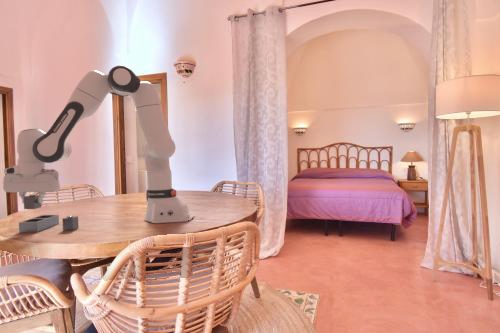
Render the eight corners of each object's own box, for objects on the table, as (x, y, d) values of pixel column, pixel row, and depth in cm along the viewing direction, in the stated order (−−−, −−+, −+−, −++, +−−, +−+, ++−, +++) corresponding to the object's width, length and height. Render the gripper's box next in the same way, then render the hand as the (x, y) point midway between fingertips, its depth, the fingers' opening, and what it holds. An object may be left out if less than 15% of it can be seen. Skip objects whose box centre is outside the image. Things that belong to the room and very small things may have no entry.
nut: (41, 207, 120) (40, 193, 120) (34, 209, 116) (34, 195, 116) (31, 207, 120) (30, 193, 120) (24, 209, 116) (23, 195, 116)
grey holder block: (42, 223, 129) (42, 214, 129) (59, 223, 130) (58, 214, 129) (19, 232, 115) (18, 222, 115) (37, 232, 116) (37, 222, 115)
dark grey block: (78, 228, 122) (77, 214, 121) (73, 230, 118) (72, 217, 117) (68, 228, 121) (68, 215, 121) (62, 230, 117) (62, 217, 117)
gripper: (62, 168, 121) (63, 201, 122) (11, 168, 120) (13, 201, 121) (53, 169, 115) (54, 204, 116) (-1, 169, 114) (0, 204, 115)
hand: (32, 203), depth 118 cm, fingers closed on nut, 4 cm apart
